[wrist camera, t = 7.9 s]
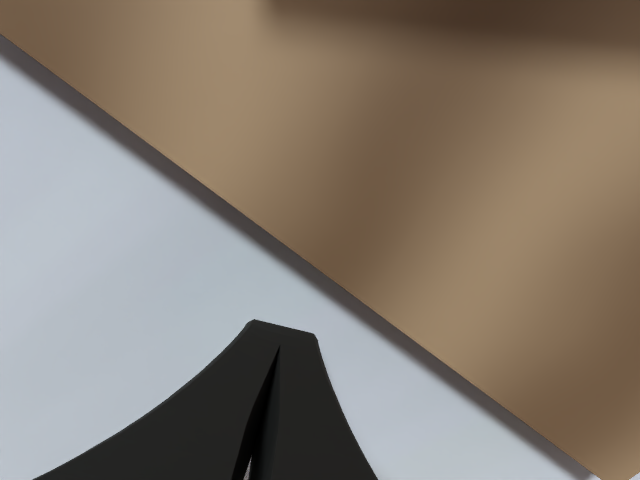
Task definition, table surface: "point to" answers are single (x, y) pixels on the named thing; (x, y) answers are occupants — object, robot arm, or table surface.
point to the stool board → (412, 169)
